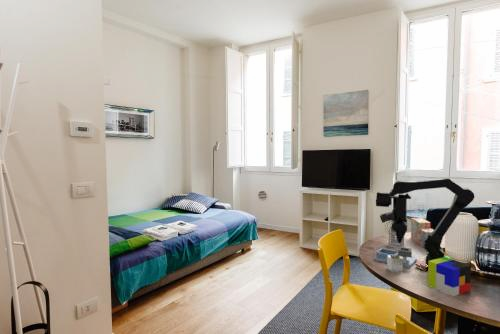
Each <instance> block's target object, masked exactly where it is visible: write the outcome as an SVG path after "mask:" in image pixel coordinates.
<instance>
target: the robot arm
mask: <svg viewBox="0 0 500 334" xmlns="http://www.w3.org/2000/svg"><path fill="white" fill-rule="evenodd" d="M441 188H445V189H447V190H448V191H450V192H452V193H453V194H454V197H453V199H452V202H451V204H450V206H449V208H448V210H447V211H446V212H445V214H444V215H443V217H442V218H441V219H440V221H439V223H438V224H437V225H436V227H435V229H433V230H434V231H433V232H431V233H430V232H429V231H428V232H427V234H426V236H425V237H424V238H423V240H424V241H423V244H424V248H423V249H424V250H425V251H426V252H427V253H426V256H425V265H426V264H427V265H428V261H430V260H435V259H439V258H443V257H446V256H445V252H444V249H443V248H442V246H441V244H442V242H443V238H444V236H445V235H446V234H447V232H448V230H449V229H450V227H451V226H452V224H453V223H454V222H455V220H456V219H457V217H458V216H459V214H460V213H461V212H462V210H464V209H465V208H466V207H468V206H469V205H470V204H471V203H472V202H473V201H474V200H475V193H474V192H473V191H472V190H471V189H469V187H462V186H460V185H459V184H457V183H456V182H454V181H452V179H450V178H449V177H443V178H435V179H425V180H424V179H423V180H416V181H415V180H414V181H412V180H402V179H401V180H396V181H395V182H394V183H393V185H392V188H391V190H390V191H389V192H380V191H377V192H376V196H375V197H376V198H375V207H383V208H384V207H385V208H389V207H390V206H392V210H391V211H390V212H385V213H382V214H380V215H379V218H380V220H381V224H384V223H387V222H390V220H392V221H393V223H392V224H391V226H392V230H394V231H395V232H396V236H395V237H397V240H398V243H401V241H402V239H403V237H404V238H405V236H406V235H405V234H406V233H407V231H408V224H407V223H408V218H407V215H408V214H407V212H408V211H407V209H408V207H407V205H408V204H407V200H411V199H412V196H411V195H409V193H410V192H413V191H420V190H430V189H431V190H432V189H441ZM427 265H426V266H427Z"/></svg>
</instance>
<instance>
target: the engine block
mask: <svg viewBox="0 0 500 334" xmlns="http://www.w3.org/2000/svg"><path fill="white" fill-rule="evenodd" d="M403 267H404V266H403V258H401V257H400V256H399V255H397V254H390V256H387V263H386V269H387V270H388V271H390V272H391V273H400V272H401V273H403V271H404V270H403V269H404V268H403Z"/></svg>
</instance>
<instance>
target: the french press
mask: <svg viewBox="0 0 500 334" xmlns="http://www.w3.org/2000/svg"><path fill="white" fill-rule="evenodd" d="M392 223H393V221H392V220H390V221H386V222H385V225H384V231H387V232H386V234H388V243H386V245H387V246H388V247H391V248H395V249H398V247H404V248H407V245H406V244H405V236H404V237H403V239H402V241H401V243H398V240H397V236H396V232H395V231H394V230H392ZM389 225H390V226H389ZM388 227H389V229H388Z"/></svg>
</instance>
